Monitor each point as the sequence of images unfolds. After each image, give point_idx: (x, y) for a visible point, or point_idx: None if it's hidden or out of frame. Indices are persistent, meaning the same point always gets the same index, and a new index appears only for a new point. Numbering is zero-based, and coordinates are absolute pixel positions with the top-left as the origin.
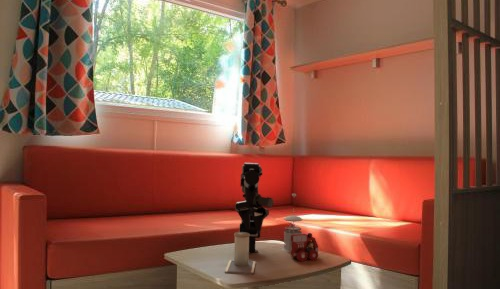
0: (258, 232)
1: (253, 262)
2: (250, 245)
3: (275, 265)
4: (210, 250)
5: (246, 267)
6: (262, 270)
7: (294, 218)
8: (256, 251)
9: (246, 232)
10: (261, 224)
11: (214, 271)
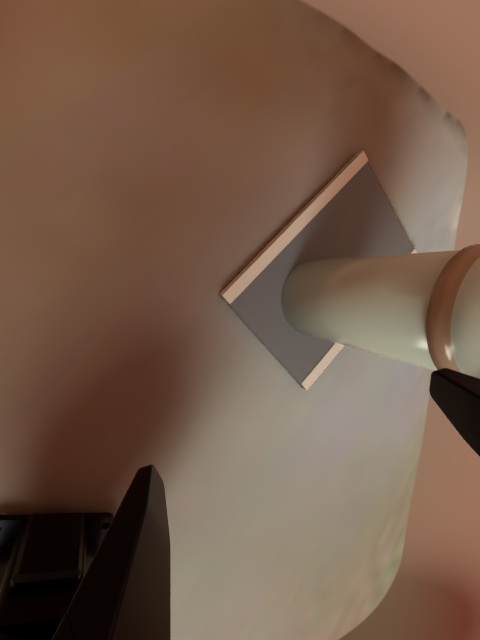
0: None
1: (248, 282)
2: (75, 548)
3: (153, 173)
4: (230, 632)
5: (330, 237)
6: (286, 163)
7: None
8: (11, 519)
9: (450, 333)
10: (105, 583)
11: None
